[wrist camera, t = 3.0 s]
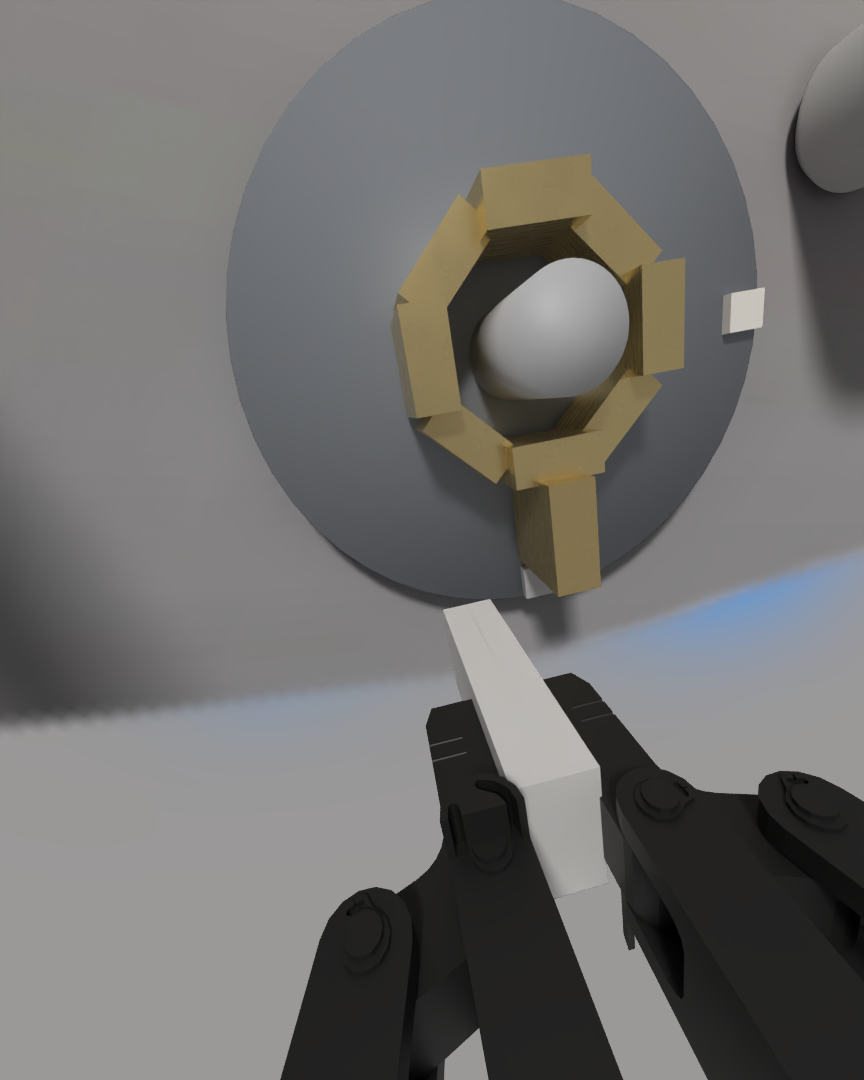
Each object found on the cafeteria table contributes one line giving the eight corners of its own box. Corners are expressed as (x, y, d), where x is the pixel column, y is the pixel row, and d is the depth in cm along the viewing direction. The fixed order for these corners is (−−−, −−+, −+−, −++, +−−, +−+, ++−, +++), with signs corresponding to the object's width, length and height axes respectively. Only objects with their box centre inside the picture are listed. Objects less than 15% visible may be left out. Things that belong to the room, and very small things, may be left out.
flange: (152, 69, 17) (-18, -205, 9) (737, 6, 19) (976, -253, 12) (318, 628, 25) (298, 721, 18) (716, 536, 28) (849, 584, 20)
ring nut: (372, 231, 18) (375, 166, 13) (622, 194, 19) (708, 122, 14) (437, 577, 23) (456, 621, 18) (631, 533, 24) (696, 564, 19)
